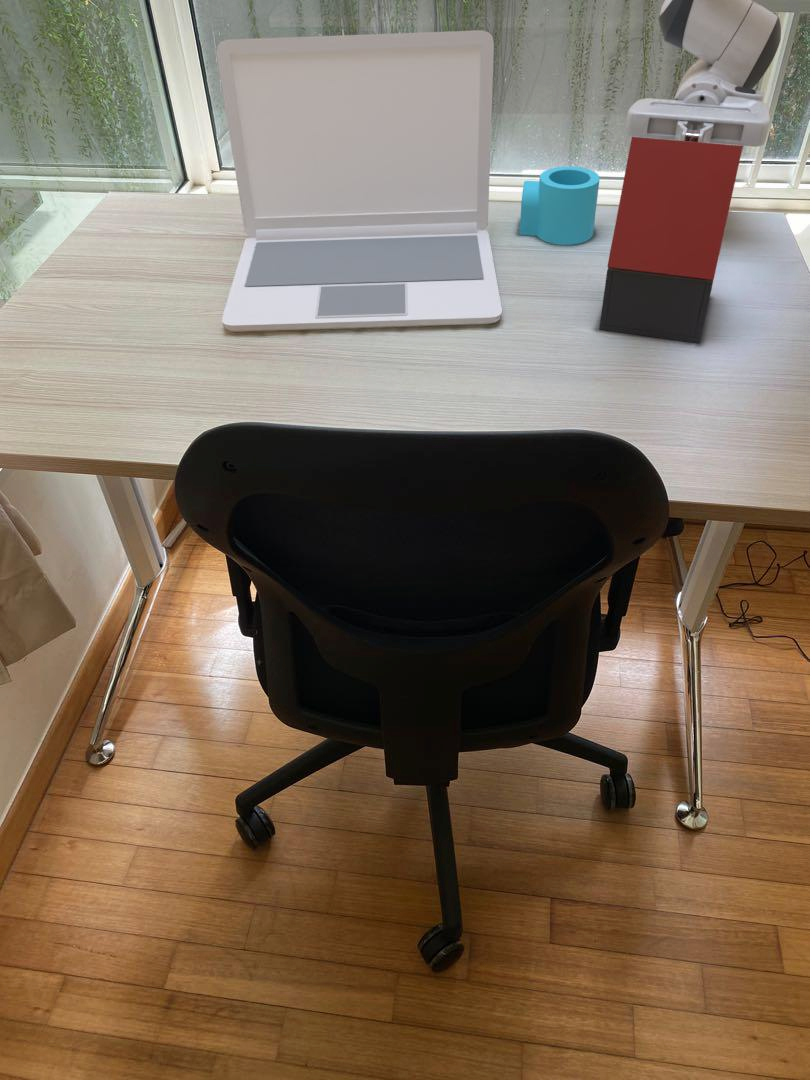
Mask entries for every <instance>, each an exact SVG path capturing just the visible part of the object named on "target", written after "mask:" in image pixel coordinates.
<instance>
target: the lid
mask: <svg viewBox="0 0 810 1080" xmlns="http://www.w3.org/2000/svg"><path fill="white" fill-rule="evenodd" d="M743 147H744V146H743V145H731V144H719V143H707V142H706V143H702V142H690V141H678V140H671V139H659V138H647V137H634V136H631V140H630V145H629V150H628V155H627V161H626V166H625V172H624V178H623V183H622V187H621V192H620V197H619V202H618V203H619V204H618V209H617V214H616V218H615V225H614V230H613V234H612V235H613V236H612V240H611V245H610V251H609V255H608V262H607V267H606V268H607V269H608V268H616V269H624V270H632V271H640V272H649V273H657V274H665V275H673V276H682V277H690V278H698V279H706V280H713V281H714V280H715V275H716V271H717V267H718V261H719V256H720V254H721V253H720V252H721V247H722V244H723V240H724V239H723V238H724V234H725V230H726V225H727V222H728V221H727V220H728V216H729V212H730V206H731V202H732V197H733V193H734V189H735V185H736V179H737V174H738V170H739V166H740V161H741V156H742V151H743Z"/></svg>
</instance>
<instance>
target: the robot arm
mask: <svg viewBox="0 0 810 1080" xmlns="http://www.w3.org/2000/svg"><path fill="white" fill-rule="evenodd" d="M658 23H659V28H660V32H661V35H662V38H663V41H664V42H666V43H667V44H670V45H672V46H674V47H676V48H678V49H681V50H685V51H686V52H688V53H690V54H691V55H693V56H695V57H697V58H698V60H696V62H694V63H693V64H691V66H690V67H689V68H688V69H687V71H686V72H685V73H684V75H683V76H682V79H681V80H680V82H679V84H678V87H677V91H676V92H675V95H674V98H673V99H665V98H651V97H648V98H641V99H638V100H637V101H635V102H634V103H633V104H632V105H631V106H630V108H629V109H628V111H627V115H626V119H625V129H624V132H625V134H626V135H627V136H630V137H641V138H654V139H666V140H678V141H690V142H702V143H714V144H727V145H739V146H743V147H754V148H755V147H756V148H757V147H761V146H764V145H765V142H766V139H767V135H768V131H769V126H770V121H771V115H770V110H769V107H768V105H767V104H766V103H765V102H764V92H763V91H761V90H757V89H754V88H755V87H756V85H757V84H758V83H759V82H760V81H761V79H762V78H763V77H764V75H765V74H766V72H767V71H768V69H769V67H770V65H771V64H772V62H773V60H774V58H775V56H776V54H777V52H778V49H779V47H780V44H781V39H782V24H781V20H780V17H779V15H776V14H775V13H774V12H772V11H771V10H769V9H767V8H766V7H764V6H763V5H761V4H759V3H757V2H756V1H754V0H664V1H663V3H662V5H661V8H660V12H659V14H658Z"/></svg>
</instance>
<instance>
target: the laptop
mask: <svg viewBox="0 0 810 1080" xmlns="http://www.w3.org/2000/svg"><path fill="white" fill-rule="evenodd" d="M493 37H494V36H492V34H491V33H489V31H486V30H482V29H480V30H476V29H475V30H454V31H453V30H451V31H449V30H448V31H427V32H425V31H424V32H423V31H422V32H397V33H394V32H393V33H370V34H367V33H366V34H345V35H344V34H343V35H341V34H340V35H318V36H317V35H316V36H314V35H313V36H287V37H284V36H283V37H261V38H260V37H259V38H258V37H257V38H235V39H234V38H231V39H229V38H228V39H225V40H222V41H220V42H219V44H218V45H217V46H216V59H217V66H218V73H219V79H220V83H221V84H220V85H221V90H222V91H221V92H222V97H223V104H224V109H225V116H226V122H227V128H228V136H229V141H230V148H231V153H232V160H233V166H234V171H235V178H236V184H237V185H236V186H237V191H238V197H239V203H240V209H241V215H242V222H243V227H244V228H243V229H244V233H245V235H246V236H247V237H248V238H247V237H246V238H245V239H244V243H243V246H242V249H241V253H240V256H239V259H238V263H237V266H236V270H235V273H234V277H233V280H232V283H231V286H230V289H229V293H228V296H227V299H226V303H225V307H224V310H223V312H222V316H221V323H222V326H223V327H224V328H225V329H226V330H227V331H229V332H234V333H235V332H236V333H242V332H269V331H270V332H273V331H276V332H277V331H305V330H306V331H307V330H309V331H310V330H337V329H338V330H340V329H364V328H365V329H371V328H402V327H435V326H437V327H438V326H466V325H467V326H468V325H471V326H472V325H491V324H495V323H497V322H498V321H499V320H500V319H501V315H502V313H503V307H502V301H501V296H500V292H499V286H498V280H497V274H496V269H495V264H494V258H493V252H492V246H491V241H490V235H489V231H488V230H484V229H487V227H488V225H489V205H490V204H489V203H490V202H489V201H490V200H489V199H490V174H491V167H490V166H491V145H492V144H491V143H492V113H493V112H492V111H493V87H494V86H493V85H494V59H495V57H494V56H495V55H494V54H495V42H494V38H493Z"/></svg>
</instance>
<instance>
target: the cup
mask: <svg viewBox="0 0 810 1080" xmlns="http://www.w3.org/2000/svg"><path fill="white" fill-rule="evenodd" d="M599 187H600V175H599V174H598V173H597V172H595V171H594V170H591V169H589V168H585V167H580V166H570V165H569V166H557V167H556V166H555V167H552V168H548V169H546V170H544V171H542V172H541V173H540V175H539V181H538V180H524V181H523V187H522V193H521V201H520V202H521V203H520V204H521V205H520V218H519V219H520V221H519V235H520V236H532V237H533V236H534V237H535V236H536V237H537V238H539V240H541V241H543V242H545V243H548V244H552V245H553V244H554V245H558V246H559V245H560V246H574V245H579V244H582V243H585V242H588V241H589V240H591V238H593V236H594V229H595V221H596V212H597V205H598V204H597V203H598V195H599V189H600V188H599Z"/></svg>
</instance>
